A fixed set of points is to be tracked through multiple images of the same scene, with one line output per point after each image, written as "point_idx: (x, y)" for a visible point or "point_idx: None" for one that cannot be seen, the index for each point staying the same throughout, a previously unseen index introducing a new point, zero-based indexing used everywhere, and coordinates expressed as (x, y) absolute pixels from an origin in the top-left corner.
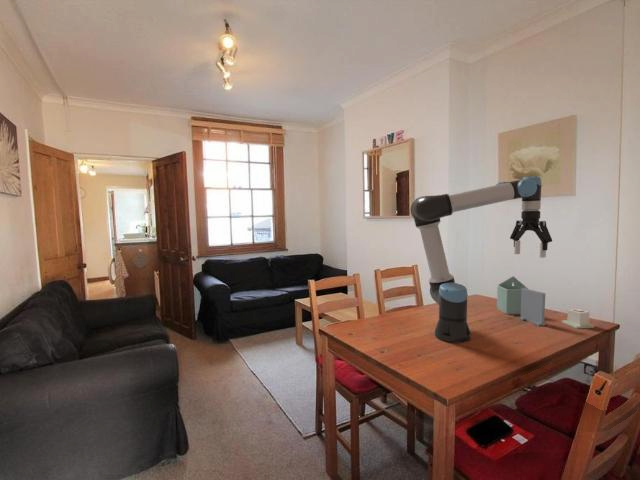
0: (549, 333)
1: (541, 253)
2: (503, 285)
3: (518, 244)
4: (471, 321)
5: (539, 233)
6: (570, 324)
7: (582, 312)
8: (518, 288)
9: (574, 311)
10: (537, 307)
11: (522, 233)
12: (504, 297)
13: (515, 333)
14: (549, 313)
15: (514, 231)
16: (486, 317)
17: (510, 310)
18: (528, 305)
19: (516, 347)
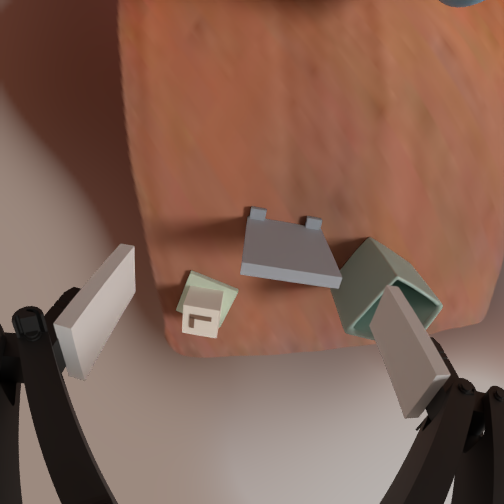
0: (198, 172)
1: (105, 263)
2: (425, 312)
3: (404, 371)
4: (386, 81)
5: (44, 452)
6: (209, 279)
7: (185, 315)
8: None
9: (201, 309)
10: (264, 239)
11: (396, 489)
12: (396, 265)
13: (246, 88)
14: (298, 332)
15: (500, 468)
16: (386, 155)
17: (364, 249)
18: (300, 244)
19: (179, 5)
